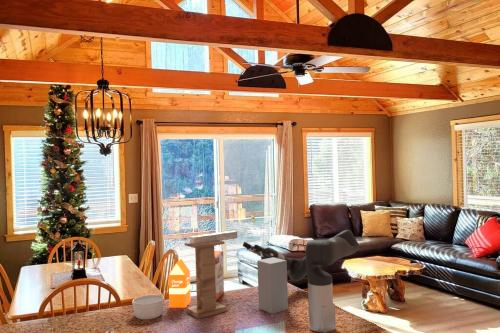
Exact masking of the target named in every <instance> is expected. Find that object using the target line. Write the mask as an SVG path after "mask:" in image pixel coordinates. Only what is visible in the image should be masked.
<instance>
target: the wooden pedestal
mask: <svg viewBox="0 0 500 333" xmlns="http://www.w3.org/2000/svg"><path fill="white" fill-rule="evenodd" d="M220 245H225V240H222V241H215V242H208V243H202V244H195V245H194V244H190V241H187V242H184V246H186V247H190V248H194V249H195V251H194V252H195V253H194V254H195V255H194V256H195V283H196V284H195V285H196V287H195V288H196V289H195V290H196V305H193V306H192V305H191V306H187V307H186V313H187V314H189V315H191V316H193V317H194V318H196V319H198V320H199V319H203V318H206V317H210V316H213V315H217V314H220V313H224V312H227V308H228V306H226V305H224V304H222V303H220V302H217V301H216V286H215V254H214V251H215V246H220Z"/></svg>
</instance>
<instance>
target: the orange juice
mask: <svg viewBox="0 0 500 333" xmlns="http://www.w3.org/2000/svg"><path fill="white" fill-rule="evenodd" d="M190 273H191V270H190V269H189V267H188V266H187V265H186V264H185V262H184V261H183V259H182V258H181V259H179V260H177V262H176V263H175V265H174V266H173V268H172V269H171V271H170V272H169V274H168V295H169V296H168V298H169V308H188V306H187V305H190V302H192V301H191V300H192V298H191V274H190Z"/></svg>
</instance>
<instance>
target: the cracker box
mask: <svg viewBox="0 0 500 333" xmlns="http://www.w3.org/2000/svg"><path fill="white" fill-rule="evenodd" d="M214 254H215V286H216V302H217V300H219V298H221V297H222V296H223V294H224V293H225V282H224V281H225V277H224V273H225V272H224V271H225V270H224V251H223V250H214Z"/></svg>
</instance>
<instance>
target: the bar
mask: <svg viewBox="0 0 500 333" xmlns="http://www.w3.org/2000/svg"><path fill="white" fill-rule="evenodd" d="M234 239H238V231H237V230H229V231H228V230H227V231H220V232H214V233H206V234H198V235H191V236H189V242H190V244H194V245H195V244H202V243H208V242H215V241H228V240H234Z"/></svg>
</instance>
